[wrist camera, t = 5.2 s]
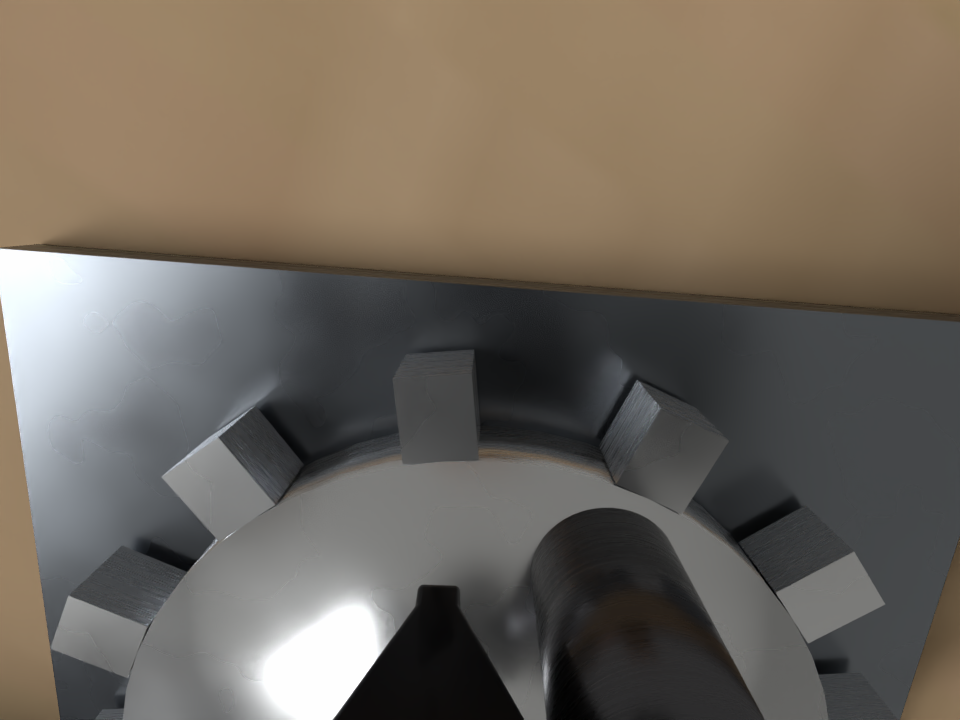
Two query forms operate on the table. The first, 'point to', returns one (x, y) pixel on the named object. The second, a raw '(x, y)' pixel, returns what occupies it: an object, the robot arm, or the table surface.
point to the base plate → (502, 402)
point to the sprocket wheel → (477, 572)
